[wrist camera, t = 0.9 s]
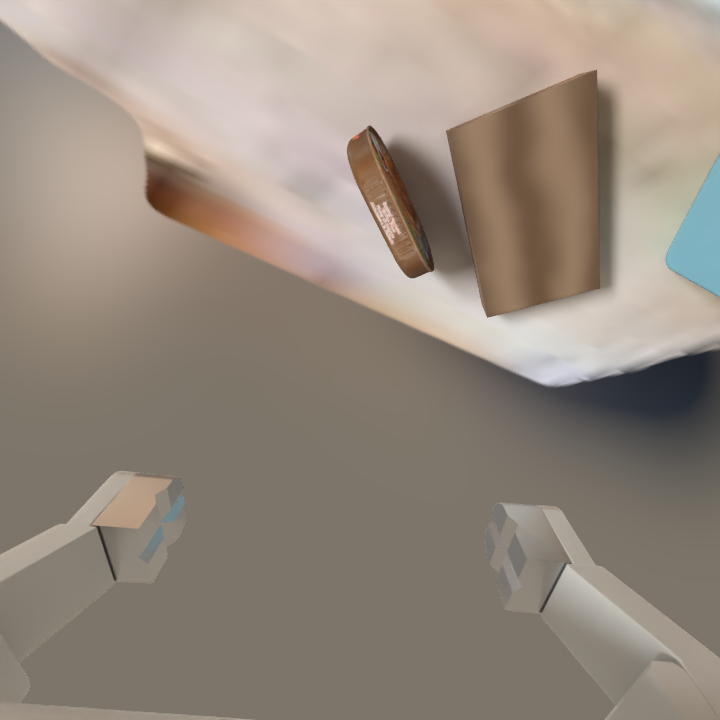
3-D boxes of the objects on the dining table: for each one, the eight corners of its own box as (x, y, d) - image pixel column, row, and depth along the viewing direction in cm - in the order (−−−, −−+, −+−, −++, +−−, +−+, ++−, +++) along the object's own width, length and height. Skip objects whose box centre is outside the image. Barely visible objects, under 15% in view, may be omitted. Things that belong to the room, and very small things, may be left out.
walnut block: (577, 74, 32) (596, 69, 29) (584, 274, 42) (599, 288, 39) (445, 130, 35) (449, 131, 32) (481, 303, 45) (487, 317, 42)
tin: (434, 254, 42) (439, 281, 35) (410, 266, 43) (411, 294, 36) (376, 122, 35) (368, 123, 28) (349, 140, 36) (335, 145, 29)
